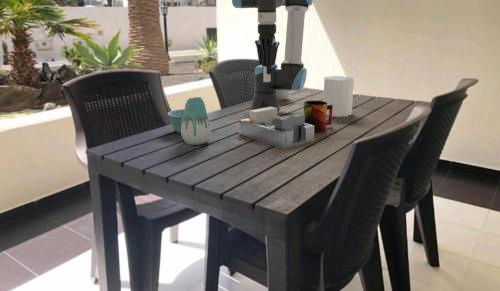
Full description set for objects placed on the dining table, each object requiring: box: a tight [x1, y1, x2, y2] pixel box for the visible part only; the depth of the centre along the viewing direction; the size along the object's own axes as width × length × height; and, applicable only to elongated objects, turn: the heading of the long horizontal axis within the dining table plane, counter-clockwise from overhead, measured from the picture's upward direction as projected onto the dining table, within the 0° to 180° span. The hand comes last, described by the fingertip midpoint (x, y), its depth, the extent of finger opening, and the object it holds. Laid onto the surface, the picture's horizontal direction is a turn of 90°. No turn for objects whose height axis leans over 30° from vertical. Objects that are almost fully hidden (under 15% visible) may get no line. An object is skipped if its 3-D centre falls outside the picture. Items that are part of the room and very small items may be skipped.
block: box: [248, 107, 278, 127], centre depth 171 cm, size 4×12×9 cm, turn 130°
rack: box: [238, 113, 316, 150], centre depth 165 cm, size 27×17×10 cm, turn 39°
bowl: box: [167, 108, 185, 134], centre depth 174 cm, size 16×16×8 cm
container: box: [322, 75, 355, 118], centre depth 204 cm, size 14×14×18 cm
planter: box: [277, 90, 292, 102], centre depth 241 cm, size 17×17×15 cm
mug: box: [303, 100, 333, 134], centre depth 176 cm, size 10×14×12 cm
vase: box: [180, 96, 212, 146], centre depth 157 cm, size 12×12×18 cm
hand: (267, 81), depth 173 cm, fingers closed
